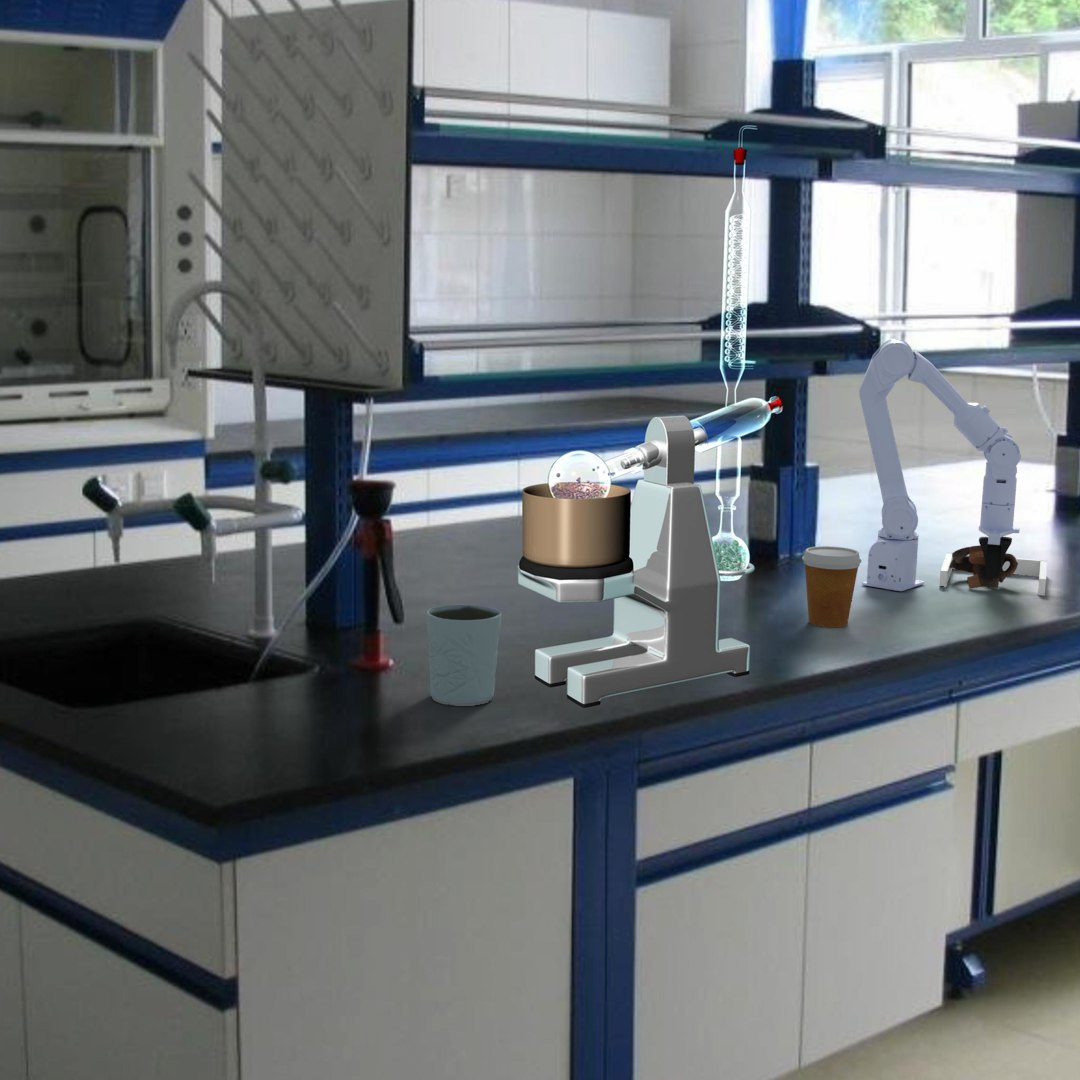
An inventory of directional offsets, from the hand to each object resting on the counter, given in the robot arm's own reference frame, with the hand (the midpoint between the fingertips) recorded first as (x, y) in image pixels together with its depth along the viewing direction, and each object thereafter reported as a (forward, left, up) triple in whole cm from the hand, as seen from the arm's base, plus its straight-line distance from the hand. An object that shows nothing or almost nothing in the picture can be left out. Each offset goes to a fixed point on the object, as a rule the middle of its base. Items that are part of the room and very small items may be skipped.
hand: (992, 577), depth 320 cm
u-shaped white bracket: (+8, +3, -2) cm, 9 cm away
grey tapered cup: (-119, +24, -3) cm, 121 cm away
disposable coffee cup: (-44, +9, -3) cm, 45 cm away
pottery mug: (+4, +4, -3) cm, 6 cm away
